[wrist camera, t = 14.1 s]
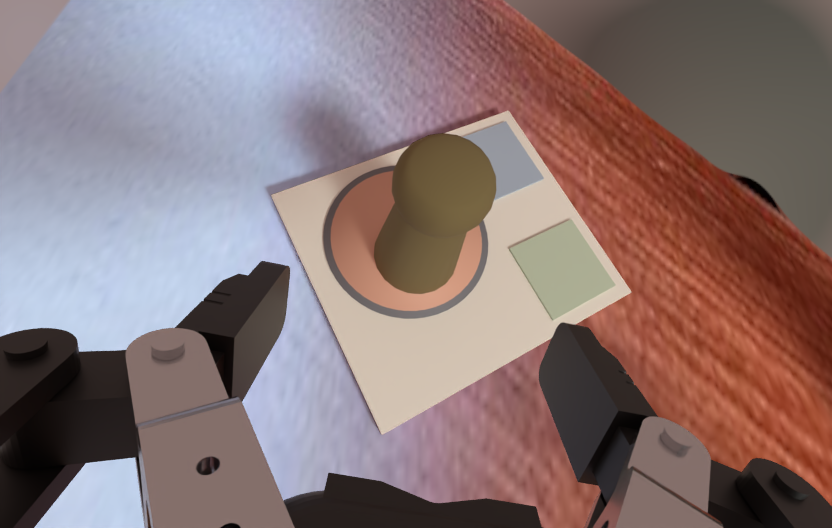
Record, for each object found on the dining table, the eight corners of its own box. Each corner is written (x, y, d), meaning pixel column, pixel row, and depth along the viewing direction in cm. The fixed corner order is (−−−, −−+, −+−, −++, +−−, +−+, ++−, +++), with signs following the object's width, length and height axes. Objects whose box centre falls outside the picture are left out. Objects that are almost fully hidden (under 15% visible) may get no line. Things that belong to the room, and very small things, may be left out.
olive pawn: (463, 226, 30) (520, 130, 20) (450, 302, 28) (507, 240, 18) (384, 206, 30) (401, 99, 19) (364, 283, 27) (372, 207, 17)
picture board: (504, 118, 36) (509, 108, 35) (623, 295, 31) (633, 291, 30) (273, 201, 30) (270, 193, 29) (381, 434, 25) (382, 435, 24)
